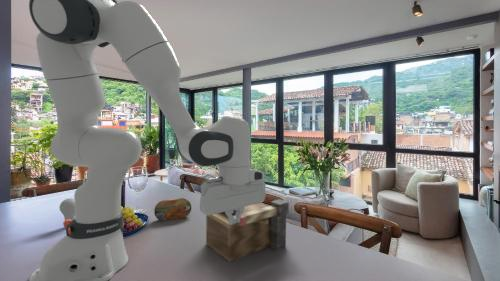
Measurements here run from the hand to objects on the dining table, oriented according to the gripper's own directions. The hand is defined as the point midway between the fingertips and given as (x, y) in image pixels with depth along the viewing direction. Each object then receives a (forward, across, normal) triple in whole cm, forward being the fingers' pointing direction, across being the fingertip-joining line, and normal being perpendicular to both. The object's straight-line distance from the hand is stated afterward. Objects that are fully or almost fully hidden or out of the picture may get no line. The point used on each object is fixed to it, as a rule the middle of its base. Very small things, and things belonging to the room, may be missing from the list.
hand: (234, 223), depth 71 cm
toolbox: (+12, +10, +7) cm, 17 cm away
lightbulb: (+13, -36, +61) cm, 72 cm away
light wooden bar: (+1, +9, 0) cm, 9 cm away
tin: (+13, -1, +45) cm, 47 cm away
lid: (+4, +10, +8) cm, 13 cm away
